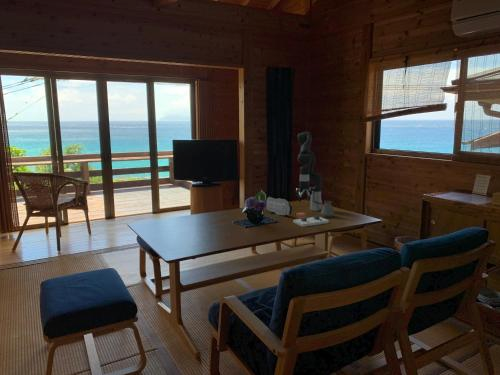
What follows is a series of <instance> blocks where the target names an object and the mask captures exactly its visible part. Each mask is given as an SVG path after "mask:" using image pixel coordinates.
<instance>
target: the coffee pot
mask: <svg viewBox="0 0 500 375" xmlns="http://www.w3.org/2000/svg"><path fill="white" fill-rule="evenodd" d="M314 202H315V203H317V204H321V203H319V202H316V201H313V203H314ZM323 202H324V204H323V203H322V204H321V205H322V210H320V215H321V216H322V218H326V219H327V218H332V217H334V216H335V210H334V208H333V205H332V200H324V201H323Z"/></svg>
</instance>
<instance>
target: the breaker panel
mask: <svg viewBox="0 0 500 375" xmlns="http://www.w3.org/2000/svg"><path fill="white" fill-rule="evenodd" d="M306 218H307V221H304V222H303V221H301V219H298V218H296V219H293V220H292V221H293V223H294V224H295V225H298V226H300V227H302V228H304V227H305V228H306V227H311V226H317V225H323V224H330V220H329V219H327V218H325V217H321V216H320V219H318V220H315V219H314V216H312V217H306Z"/></svg>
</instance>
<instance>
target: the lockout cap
mask: <svg viewBox="0 0 500 375" xmlns="http://www.w3.org/2000/svg"><path fill="white" fill-rule="evenodd" d="M295 217H296V219H301V217H306V218H307V214H306V213H305V212H296V213H295Z"/></svg>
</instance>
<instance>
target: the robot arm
mask: <svg viewBox="0 0 500 375" xmlns="http://www.w3.org/2000/svg"><path fill="white" fill-rule="evenodd" d="M312 140H313V138H312V133H311V132H310V131H303V132H299V133H298V134H297V141H298V144H299V146H300V150H299V154H298V155H297V163H299V164H305V165H303V166H300V167H299V181H298V182H299V188H295V196H296V197H298V198H297V199H298V200H297V201H298V202H302V196H303V194H306V200H307V201H309V202H310V204H309V205H310V206H309V208H310V211H315V212H317V211H322V209H323V205H321V204H323V200H322V187H323V185H322V184H323V175H322V173H319V172H315V171H314V167H315V165H316V156H315V154H314V152H312V150H310V147H311V144H312ZM310 183H311V184H315V186H313V187H312V186H310ZM313 201H316V202H319V203H321V204H317V203H315V202H314V203H313Z"/></svg>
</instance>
